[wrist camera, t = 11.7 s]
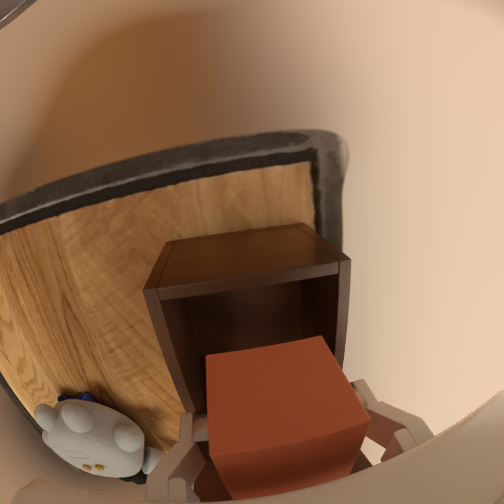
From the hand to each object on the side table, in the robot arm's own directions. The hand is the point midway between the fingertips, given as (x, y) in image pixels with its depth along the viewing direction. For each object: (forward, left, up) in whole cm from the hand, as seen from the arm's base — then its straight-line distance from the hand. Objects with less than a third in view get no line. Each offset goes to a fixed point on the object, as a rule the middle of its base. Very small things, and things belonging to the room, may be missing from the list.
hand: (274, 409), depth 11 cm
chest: (+2, +3, -15) cm, 15 cm away
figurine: (+30, +4, -15) cm, 34 cm away
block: (0, 0, -2) cm, 2 cm away
